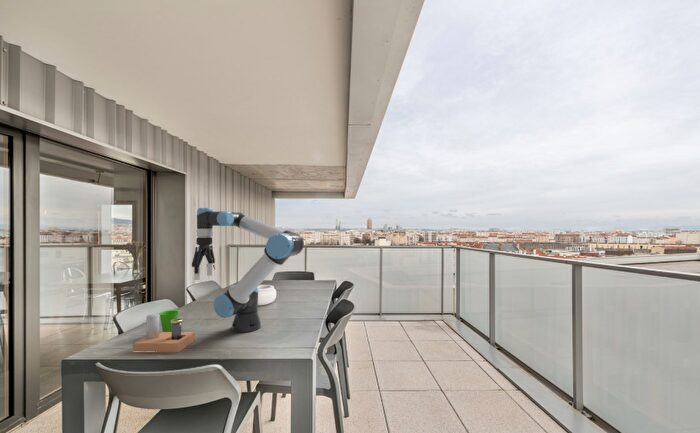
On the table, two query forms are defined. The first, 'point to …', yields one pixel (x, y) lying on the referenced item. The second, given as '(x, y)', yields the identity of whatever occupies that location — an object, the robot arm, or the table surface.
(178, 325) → the pin
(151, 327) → the peach square-hole plate
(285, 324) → the table surface
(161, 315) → the cup
